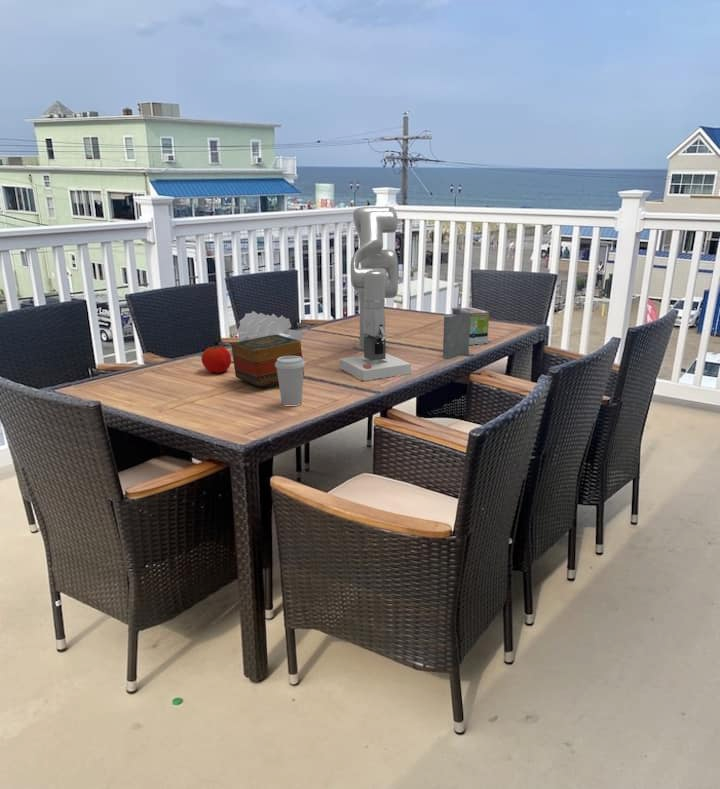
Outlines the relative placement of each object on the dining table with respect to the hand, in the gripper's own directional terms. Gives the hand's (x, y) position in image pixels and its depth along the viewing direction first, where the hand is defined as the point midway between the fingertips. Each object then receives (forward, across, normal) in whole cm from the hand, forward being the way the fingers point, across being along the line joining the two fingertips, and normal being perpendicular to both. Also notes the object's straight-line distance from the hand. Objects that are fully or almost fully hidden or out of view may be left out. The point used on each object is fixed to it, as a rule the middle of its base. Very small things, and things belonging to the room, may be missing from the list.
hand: (374, 351), depth 231 cm
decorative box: (+8, -7, -40) cm, 41 cm away
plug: (+2, 0, 0) cm, 2 cm away
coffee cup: (+8, +21, -42) cm, 48 cm away
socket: (+8, 0, 0) cm, 8 cm away
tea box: (+8, -24, +63) cm, 68 cm away
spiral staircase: (+8, -46, -26) cm, 54 cm away
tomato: (+8, -30, -53) cm, 61 cm away
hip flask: (+8, -6, +42) cm, 43 cm away
